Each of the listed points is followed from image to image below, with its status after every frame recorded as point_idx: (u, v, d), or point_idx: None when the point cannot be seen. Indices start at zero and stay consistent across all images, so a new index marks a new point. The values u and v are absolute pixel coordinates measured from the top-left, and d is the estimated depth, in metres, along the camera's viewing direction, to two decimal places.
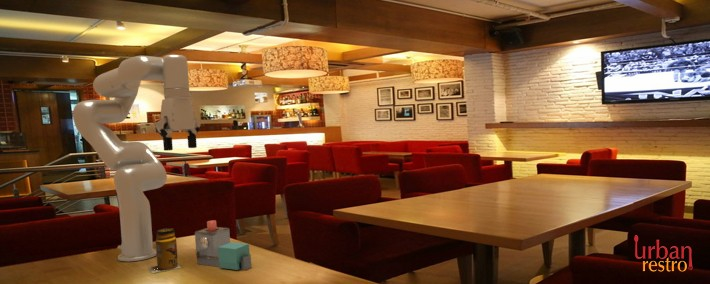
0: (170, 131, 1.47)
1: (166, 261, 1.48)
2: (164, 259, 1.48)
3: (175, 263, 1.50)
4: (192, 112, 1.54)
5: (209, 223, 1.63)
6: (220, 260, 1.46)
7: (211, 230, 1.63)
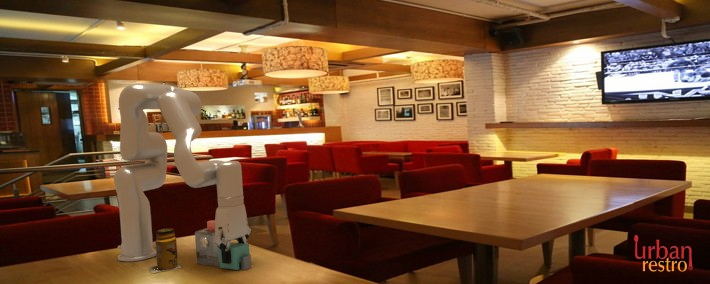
0: (228, 244, 1.43)
1: (166, 261, 1.48)
2: (164, 259, 1.48)
3: (175, 263, 1.50)
4: (245, 217, 1.49)
5: (209, 223, 1.63)
6: (220, 260, 1.46)
7: (211, 230, 1.63)
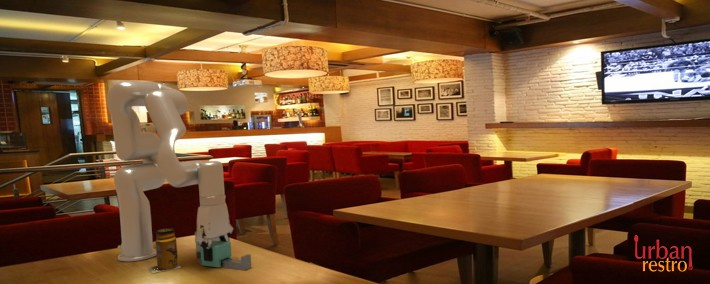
0: (209, 242, 1.47)
1: (166, 261, 1.48)
2: (164, 259, 1.48)
3: (175, 263, 1.50)
4: (227, 216, 1.53)
5: None
6: (202, 258, 1.50)
7: None
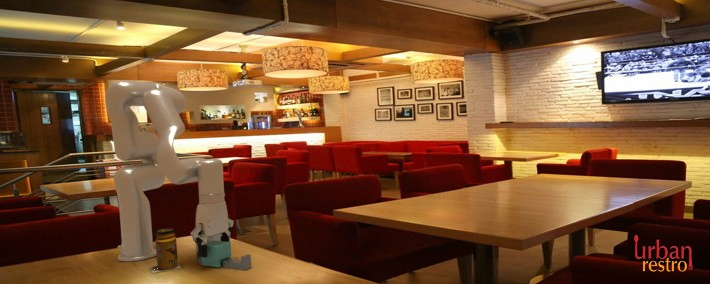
0: (205, 238, 1.46)
1: (166, 261, 1.48)
2: (164, 259, 1.48)
3: (175, 263, 1.50)
4: (226, 214, 1.53)
5: None
6: (202, 258, 1.50)
7: None
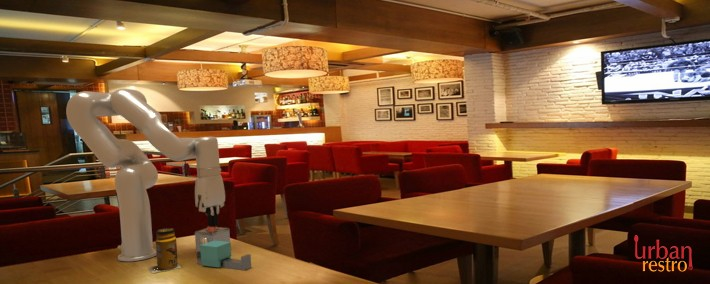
0: (211, 209, 1.62)
1: (166, 261, 1.48)
2: (164, 259, 1.48)
3: (175, 263, 1.50)
4: (222, 187, 1.66)
5: (209, 228, 1.63)
6: (202, 258, 1.50)
7: None
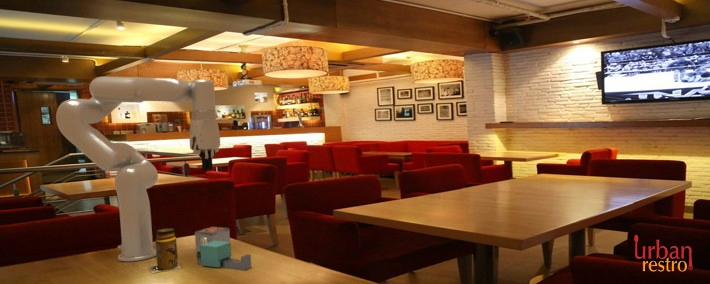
0: (206, 153, 1.61)
1: (166, 261, 1.48)
2: (164, 259, 1.48)
3: (175, 263, 1.50)
4: (217, 132, 1.65)
5: (210, 231, 1.63)
6: (202, 258, 1.50)
7: None
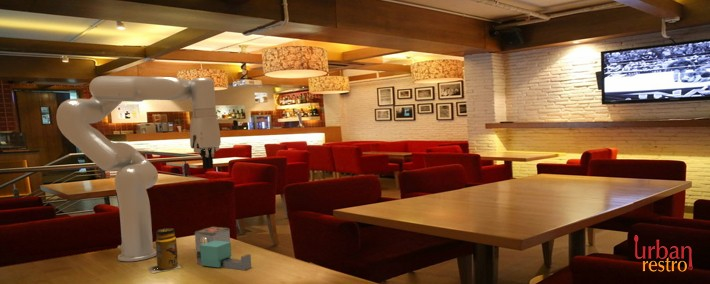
0: (206, 151, 1.61)
1: (166, 261, 1.48)
2: (164, 259, 1.48)
3: (175, 263, 1.50)
4: (218, 130, 1.65)
5: (210, 231, 1.63)
6: (202, 258, 1.50)
7: None
